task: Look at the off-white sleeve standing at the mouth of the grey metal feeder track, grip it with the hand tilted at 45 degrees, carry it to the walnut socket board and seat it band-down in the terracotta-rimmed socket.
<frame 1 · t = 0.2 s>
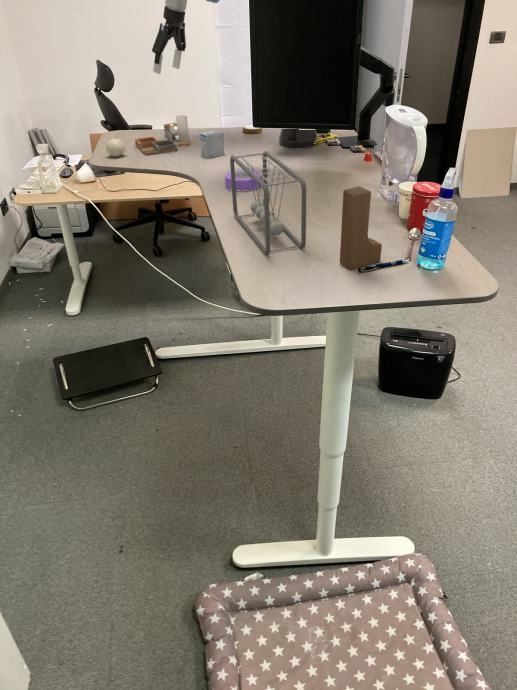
hand: (166, 70, 208), 28 cm above the table, tool tilted 20°, fingers open, 13 cm apart
masking tape: (243, 186, 179), on the table
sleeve: (184, 145, 223), on the table
medicine box: (213, 156, 209), on the table
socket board: (156, 148, 221), on the table
wooden block: (359, 263, 130), on the table
baseball: (117, 157, 213), on the table
newton's cradle: (267, 233, 147), on the table
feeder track: (175, 138, 233), on the table
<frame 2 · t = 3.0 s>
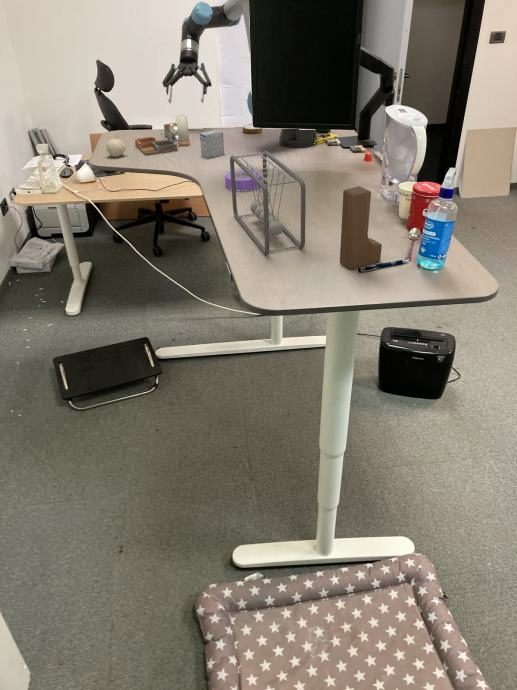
hand: (185, 101, 223), 15 cm above the table, tool tilted 45°, fingers open, 13 cm apart
nothing on the table moved.
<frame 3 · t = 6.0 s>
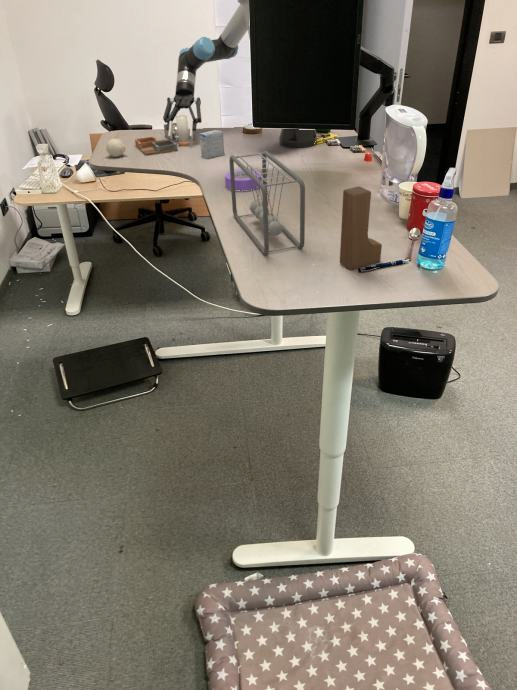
hand: (180, 137, 218), 4 cm above the table, tool tilted 45°, fingers open, 8 cm apart
nothing on the table moved.
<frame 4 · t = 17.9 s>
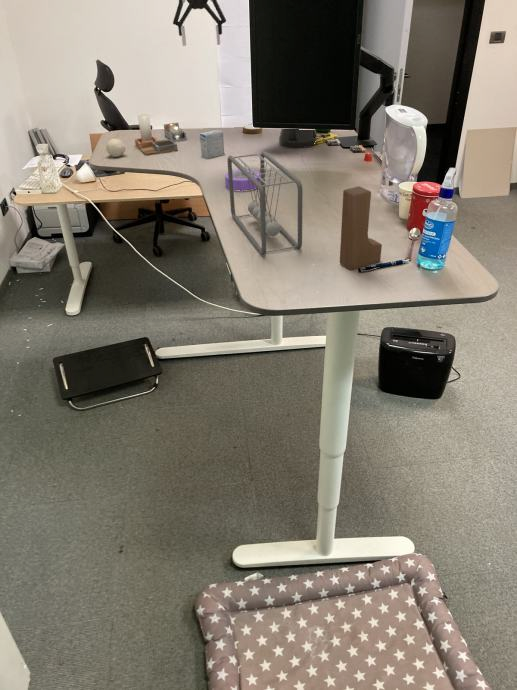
hand: (201, 45, 212), 35 cm above the table, tool pointing down, fingers open, 13 cm apart
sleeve: (147, 144, 223), point 1 cm above the table, touching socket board
everything else where it was.
at the end: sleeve 0.5 cm from the target spot on the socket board, point 0.8 cm above the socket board's base; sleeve tilted 0°; the gripper is holding nothing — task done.
